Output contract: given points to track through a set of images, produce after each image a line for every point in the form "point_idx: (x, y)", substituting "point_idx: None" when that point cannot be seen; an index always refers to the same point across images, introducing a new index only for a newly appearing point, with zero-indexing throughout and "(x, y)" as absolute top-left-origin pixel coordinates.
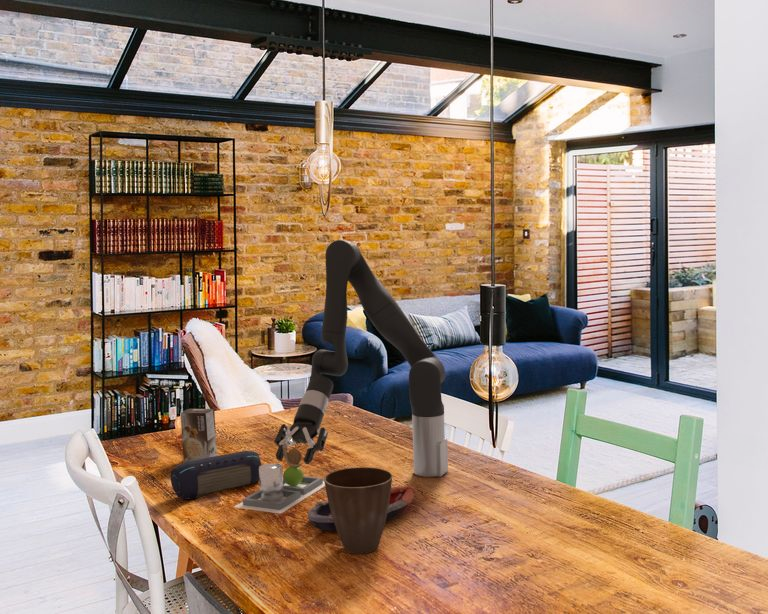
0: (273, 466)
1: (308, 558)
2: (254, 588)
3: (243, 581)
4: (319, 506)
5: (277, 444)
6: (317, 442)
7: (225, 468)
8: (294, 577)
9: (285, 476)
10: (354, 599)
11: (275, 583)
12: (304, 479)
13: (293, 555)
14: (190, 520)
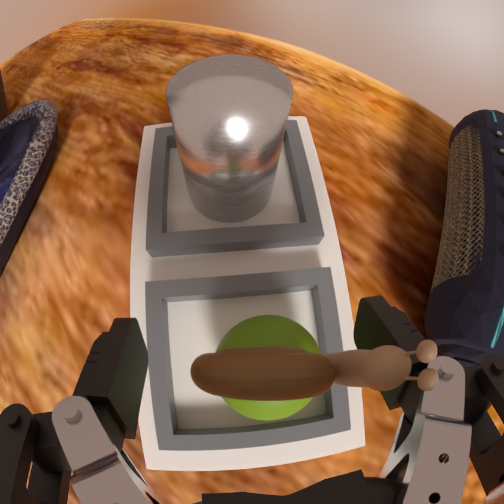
0: (216, 90)
1: (51, 73)
2: (97, 22)
3: (114, 20)
4: (33, 139)
5: (468, 369)
6: (15, 441)
7: (481, 187)
8: (61, 47)
9: (281, 316)
10: (7, 62)
11: (78, 33)
12: (247, 428)
13: (72, 66)
14: (347, 82)
